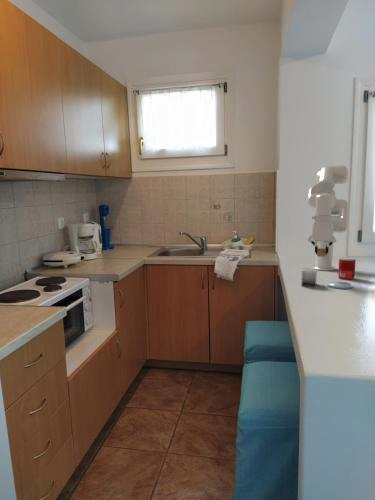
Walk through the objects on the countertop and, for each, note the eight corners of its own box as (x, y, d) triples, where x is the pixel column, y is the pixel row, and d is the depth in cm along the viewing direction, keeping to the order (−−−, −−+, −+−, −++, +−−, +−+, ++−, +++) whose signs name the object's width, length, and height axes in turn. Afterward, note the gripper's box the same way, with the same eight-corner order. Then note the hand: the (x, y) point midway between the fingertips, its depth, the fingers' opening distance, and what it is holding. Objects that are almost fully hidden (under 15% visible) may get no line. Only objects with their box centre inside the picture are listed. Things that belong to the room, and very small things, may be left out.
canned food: (355, 280, 190) (357, 259, 188) (339, 279, 192) (340, 259, 190) (352, 277, 197) (353, 257, 196) (336, 276, 199) (337, 256, 197)
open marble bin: (301, 282, 186) (302, 268, 185) (316, 283, 184) (316, 268, 183) (301, 285, 180) (301, 270, 179) (316, 287, 177) (316, 271, 176)
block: (317, 256, 191) (317, 248, 191) (325, 256, 190) (325, 249, 190) (317, 256, 187) (317, 248, 187) (325, 256, 186) (325, 248, 186)
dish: (324, 283, 184) (324, 281, 184) (346, 283, 184) (346, 281, 183) (330, 288, 174) (330, 286, 173) (354, 289, 173) (354, 286, 172)
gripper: (305, 219, 185) (304, 254, 188) (341, 219, 179) (339, 256, 182) (306, 218, 192) (304, 252, 195) (340, 218, 186) (338, 253, 189)
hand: (321, 253), depth 189 cm, fingers closed on block, 3 cm apart
